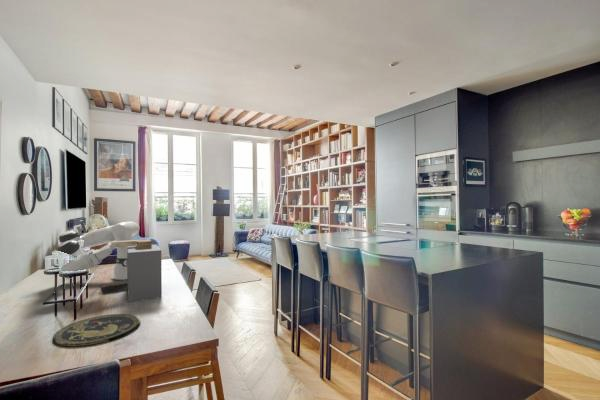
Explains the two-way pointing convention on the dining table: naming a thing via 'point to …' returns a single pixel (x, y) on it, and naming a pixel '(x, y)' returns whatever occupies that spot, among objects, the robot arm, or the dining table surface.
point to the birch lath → (126, 243)
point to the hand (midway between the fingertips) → (119, 243)
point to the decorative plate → (96, 330)
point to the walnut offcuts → (144, 244)
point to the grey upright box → (144, 273)
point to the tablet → (114, 289)
